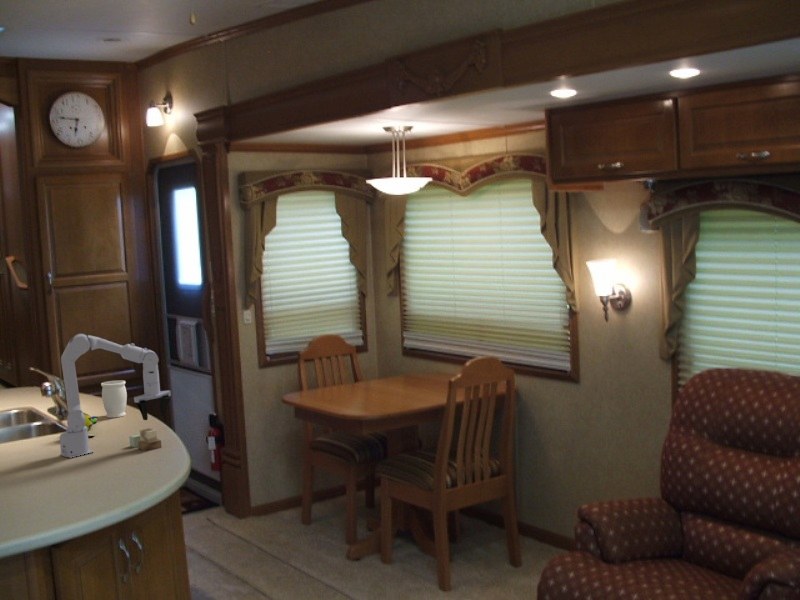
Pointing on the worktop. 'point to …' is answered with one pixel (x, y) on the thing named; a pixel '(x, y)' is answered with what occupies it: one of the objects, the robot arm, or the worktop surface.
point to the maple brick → (148, 435)
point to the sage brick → (134, 440)
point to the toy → (90, 421)
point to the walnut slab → (149, 445)
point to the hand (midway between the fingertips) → (154, 417)
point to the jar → (114, 398)
